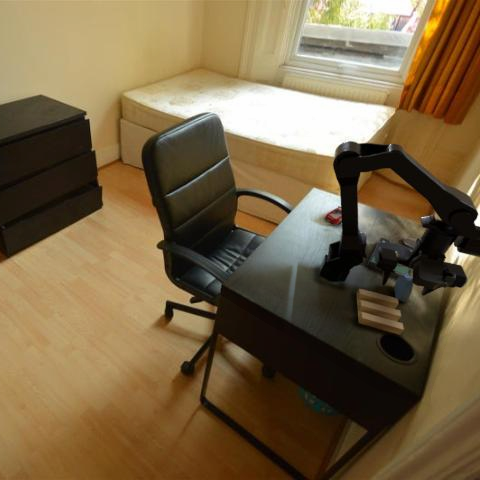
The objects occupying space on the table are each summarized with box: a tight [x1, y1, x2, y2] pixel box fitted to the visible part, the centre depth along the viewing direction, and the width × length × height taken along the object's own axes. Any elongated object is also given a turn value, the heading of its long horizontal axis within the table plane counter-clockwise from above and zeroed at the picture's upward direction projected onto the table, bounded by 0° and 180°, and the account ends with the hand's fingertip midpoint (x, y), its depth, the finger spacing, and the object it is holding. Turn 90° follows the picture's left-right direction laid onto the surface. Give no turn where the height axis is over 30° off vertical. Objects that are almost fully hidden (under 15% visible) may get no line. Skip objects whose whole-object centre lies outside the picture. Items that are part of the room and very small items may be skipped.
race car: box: [324, 205, 342, 226], centre depth 117 cm, size 13×5×4 cm, turn 122°
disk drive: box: [366, 237, 413, 279], centre depth 100 cm, size 10×3×15 cm
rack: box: [356, 288, 405, 336], centre depth 84 cm, size 9×10×3 cm
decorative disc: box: [401, 236, 417, 249], centre depth 107 cm, size 6×6×1 cm
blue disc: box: [393, 275, 414, 303], centre depth 88 cm, size 7×2×7 cm, turn 158°
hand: (402, 289), depth 88 cm, fingers open, 9 cm apart
